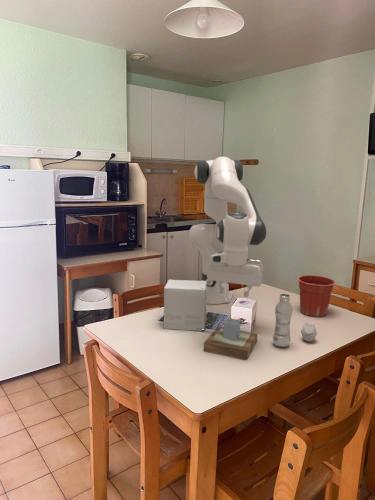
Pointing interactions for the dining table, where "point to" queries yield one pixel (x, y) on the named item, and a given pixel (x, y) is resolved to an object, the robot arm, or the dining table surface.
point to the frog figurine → (308, 332)
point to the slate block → (231, 329)
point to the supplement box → (185, 305)
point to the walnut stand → (231, 344)
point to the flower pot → (315, 294)
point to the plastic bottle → (282, 321)
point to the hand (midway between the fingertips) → (233, 294)
